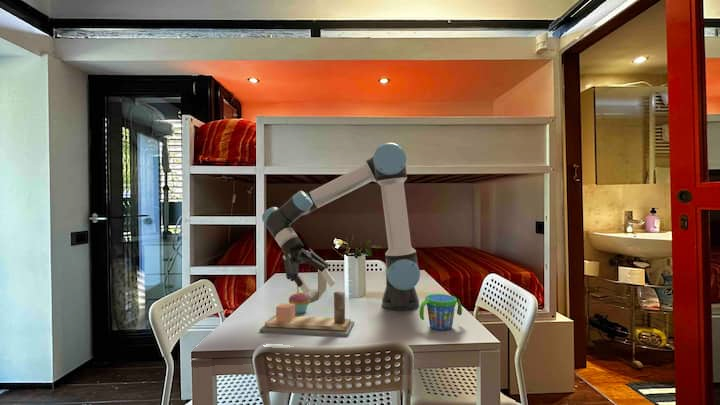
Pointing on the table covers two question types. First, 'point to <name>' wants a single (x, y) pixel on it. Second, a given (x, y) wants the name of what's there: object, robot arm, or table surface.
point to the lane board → (308, 331)
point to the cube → (285, 312)
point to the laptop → (317, 292)
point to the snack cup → (440, 310)
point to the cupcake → (299, 301)
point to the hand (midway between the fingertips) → (321, 288)
